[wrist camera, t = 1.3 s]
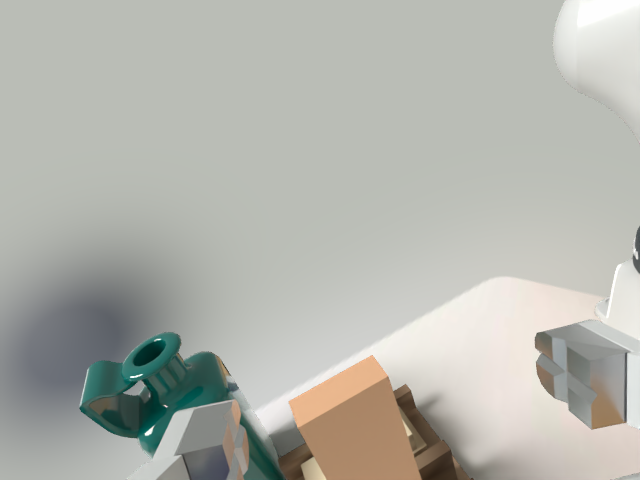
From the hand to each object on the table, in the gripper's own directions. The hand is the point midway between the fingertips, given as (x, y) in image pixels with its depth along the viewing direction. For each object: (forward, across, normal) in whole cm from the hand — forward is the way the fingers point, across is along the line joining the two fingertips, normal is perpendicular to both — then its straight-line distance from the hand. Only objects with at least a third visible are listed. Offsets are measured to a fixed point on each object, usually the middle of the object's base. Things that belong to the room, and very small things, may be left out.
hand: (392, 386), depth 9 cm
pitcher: (+26, +14, +28) cm, 41 cm away
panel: (+16, -2, +26) cm, 31 cm away
